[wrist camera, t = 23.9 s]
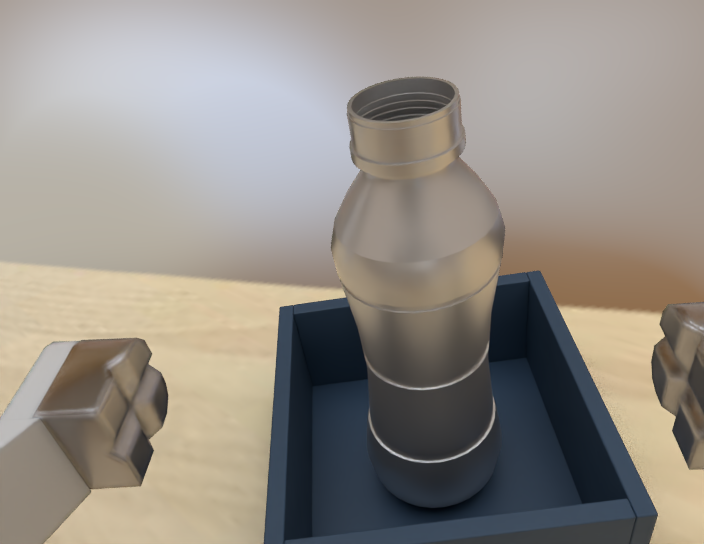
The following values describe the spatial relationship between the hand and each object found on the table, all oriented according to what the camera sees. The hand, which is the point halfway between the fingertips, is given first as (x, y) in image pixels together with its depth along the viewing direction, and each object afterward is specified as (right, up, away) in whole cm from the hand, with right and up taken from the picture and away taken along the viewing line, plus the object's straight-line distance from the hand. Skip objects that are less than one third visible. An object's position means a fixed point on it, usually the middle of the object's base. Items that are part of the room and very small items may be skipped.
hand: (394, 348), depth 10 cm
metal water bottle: (+4, -9, +22) cm, 24 cm away
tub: (+4, -9, +22) cm, 24 cm away
